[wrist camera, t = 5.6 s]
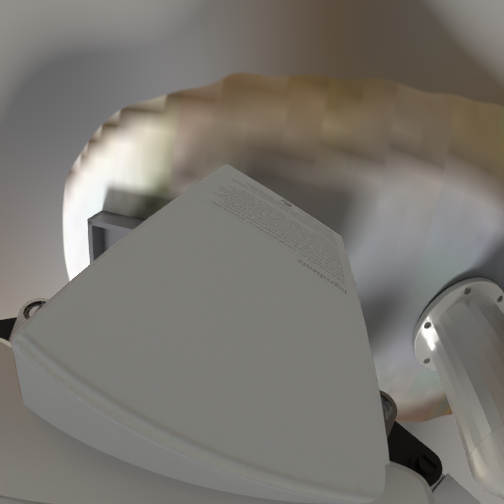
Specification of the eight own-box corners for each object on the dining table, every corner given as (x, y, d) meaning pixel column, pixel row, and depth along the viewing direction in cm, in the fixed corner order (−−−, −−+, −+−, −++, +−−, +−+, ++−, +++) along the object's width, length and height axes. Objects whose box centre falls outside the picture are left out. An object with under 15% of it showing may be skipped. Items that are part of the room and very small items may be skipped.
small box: (227, 160, 12) (-4, 320, 2) (345, 235, 12) (408, 505, 3) (154, 299, 15) (37, 471, 6) (247, 353, 16) (195, 547, 6)
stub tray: (194, 230, 27) (185, 241, 25) (185, 331, 32) (178, 346, 30) (101, 210, 28) (87, 219, 25) (107, 307, 33) (96, 319, 31)
